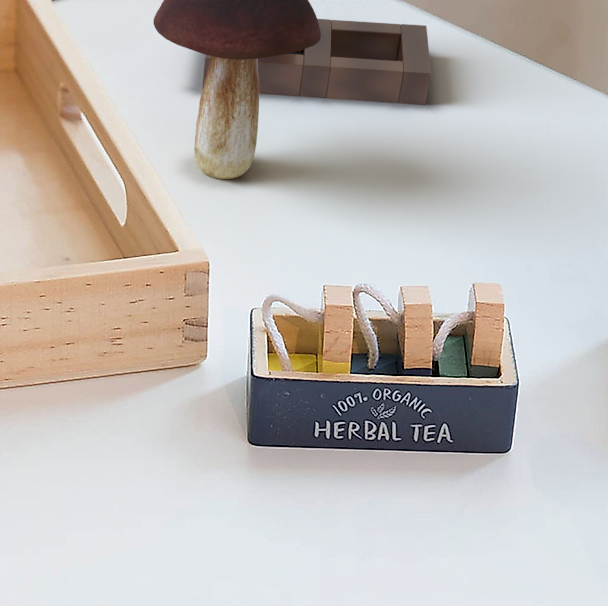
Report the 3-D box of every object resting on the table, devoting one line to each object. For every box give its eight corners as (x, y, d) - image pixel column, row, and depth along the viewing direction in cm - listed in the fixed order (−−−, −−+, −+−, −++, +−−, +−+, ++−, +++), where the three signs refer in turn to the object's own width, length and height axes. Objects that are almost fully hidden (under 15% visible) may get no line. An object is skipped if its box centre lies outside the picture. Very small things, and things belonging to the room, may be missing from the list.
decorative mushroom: (259, 134, 112) (283, -78, 102) (328, 201, 105) (362, -21, 95) (120, 155, 110) (132, -60, 100) (181, 225, 102) (199, 0, 92)
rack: (419, 62, 122) (426, 25, 120) (423, 112, 115) (431, 73, 113) (209, 48, 124) (213, 11, 122) (201, 96, 117) (204, 58, 115)
